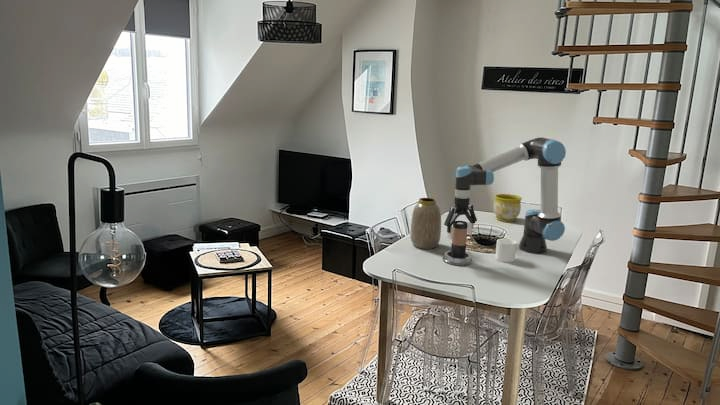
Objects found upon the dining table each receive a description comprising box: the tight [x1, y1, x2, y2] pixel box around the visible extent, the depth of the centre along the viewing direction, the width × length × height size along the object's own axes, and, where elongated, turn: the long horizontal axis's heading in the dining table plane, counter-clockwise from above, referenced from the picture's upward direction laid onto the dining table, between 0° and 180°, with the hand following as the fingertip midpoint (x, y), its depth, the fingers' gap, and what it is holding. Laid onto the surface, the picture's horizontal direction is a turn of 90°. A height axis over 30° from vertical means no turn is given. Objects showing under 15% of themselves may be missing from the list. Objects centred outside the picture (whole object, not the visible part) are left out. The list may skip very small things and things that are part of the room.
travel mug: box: [450, 220, 468, 258], centre depth 275 cm, size 8×8×20 cm
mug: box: [494, 238, 517, 264], centre depth 281 cm, size 13×10×10 cm
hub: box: [442, 250, 473, 267], centre depth 277 cm, size 15×15×4 cm
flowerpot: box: [493, 193, 522, 223], centre depth 362 cm, size 18×18×16 cm
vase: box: [410, 197, 442, 250], centre depth 299 cm, size 17×17×27 cm
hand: (459, 236), depth 274 cm, fingers open, 13 cm apart
